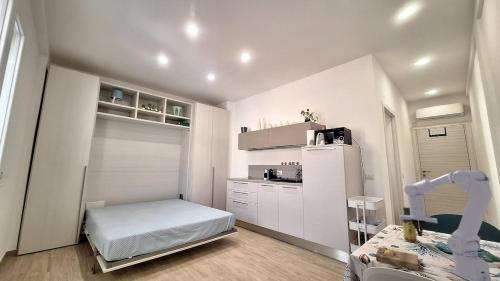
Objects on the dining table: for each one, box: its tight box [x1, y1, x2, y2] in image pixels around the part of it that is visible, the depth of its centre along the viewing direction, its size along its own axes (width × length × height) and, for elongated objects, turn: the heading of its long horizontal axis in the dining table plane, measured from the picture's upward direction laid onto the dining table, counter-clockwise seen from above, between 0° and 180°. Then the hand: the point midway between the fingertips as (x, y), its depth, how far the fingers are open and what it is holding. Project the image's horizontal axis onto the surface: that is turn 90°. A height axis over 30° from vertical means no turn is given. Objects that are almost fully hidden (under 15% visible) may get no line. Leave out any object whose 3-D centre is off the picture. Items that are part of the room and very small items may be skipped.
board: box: [375, 247, 419, 271], centre depth 99 cm, size 16×12×2 cm
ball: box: [384, 249, 394, 256], centre depth 101 cm, size 4×4×4 cm
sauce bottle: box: [401, 206, 417, 243], centre depth 125 cm, size 6×6×20 cm
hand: (420, 235), depth 102 cm, fingers closed
